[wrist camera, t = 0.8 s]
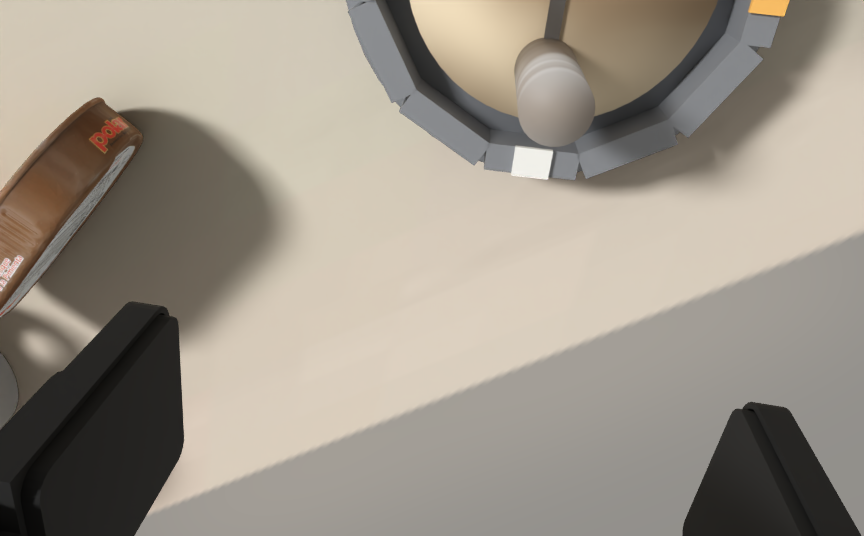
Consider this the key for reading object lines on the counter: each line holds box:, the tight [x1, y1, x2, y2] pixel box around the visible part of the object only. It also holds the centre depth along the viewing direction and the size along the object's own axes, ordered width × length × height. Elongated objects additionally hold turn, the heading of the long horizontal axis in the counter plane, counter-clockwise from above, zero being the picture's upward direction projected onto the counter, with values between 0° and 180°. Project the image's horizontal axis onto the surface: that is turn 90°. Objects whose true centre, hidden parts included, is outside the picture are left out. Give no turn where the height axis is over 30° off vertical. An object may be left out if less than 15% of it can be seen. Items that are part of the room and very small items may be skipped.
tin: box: [0, 98, 143, 318], centre depth 33 cm, size 15×3×8 cm, turn 136°
